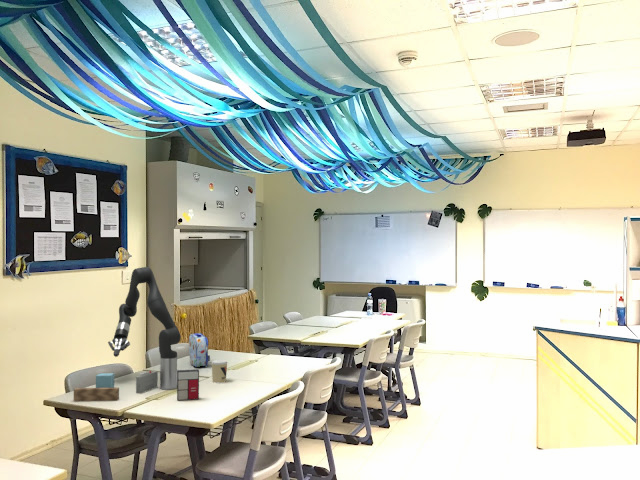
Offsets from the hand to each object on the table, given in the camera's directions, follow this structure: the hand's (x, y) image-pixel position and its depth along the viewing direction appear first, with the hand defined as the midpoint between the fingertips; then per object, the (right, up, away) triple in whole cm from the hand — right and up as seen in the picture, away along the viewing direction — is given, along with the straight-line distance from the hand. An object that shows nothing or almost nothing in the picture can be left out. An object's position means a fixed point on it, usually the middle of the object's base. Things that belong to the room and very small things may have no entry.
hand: (115, 355), depth 316 cm
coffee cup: (+58, -17, +9) cm, 62 cm away
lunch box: (+36, -18, +56) cm, 69 cm away
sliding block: (+1, -15, -19) cm, 24 cm away
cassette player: (+22, -17, -11) cm, 30 cm away
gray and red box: (+49, -17, -30) cm, 60 cm away
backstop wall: (+2, -16, -24) cm, 29 cm away
